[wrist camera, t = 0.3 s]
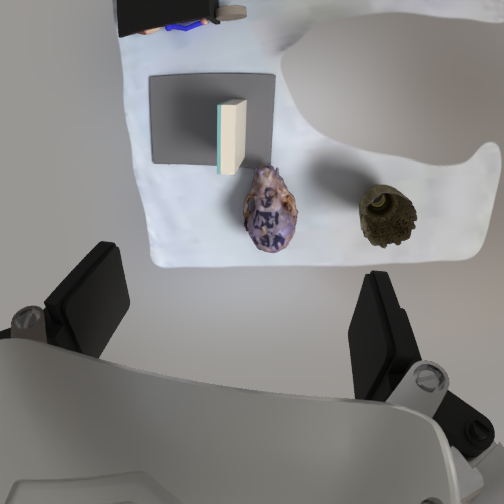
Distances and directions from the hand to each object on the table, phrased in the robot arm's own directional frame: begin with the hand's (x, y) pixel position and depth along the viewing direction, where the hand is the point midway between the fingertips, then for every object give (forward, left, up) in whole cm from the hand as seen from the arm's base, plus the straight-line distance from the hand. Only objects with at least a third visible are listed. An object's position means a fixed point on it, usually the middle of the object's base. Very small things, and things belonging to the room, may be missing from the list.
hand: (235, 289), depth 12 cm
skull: (+11, -1, -34) cm, 35 cm away
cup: (+8, +14, -34) cm, 38 cm away
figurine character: (-17, -13, -34) cm, 40 cm away
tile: (0, -6, -33) cm, 34 cm away
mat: (-1, -10, -34) cm, 35 cm away
